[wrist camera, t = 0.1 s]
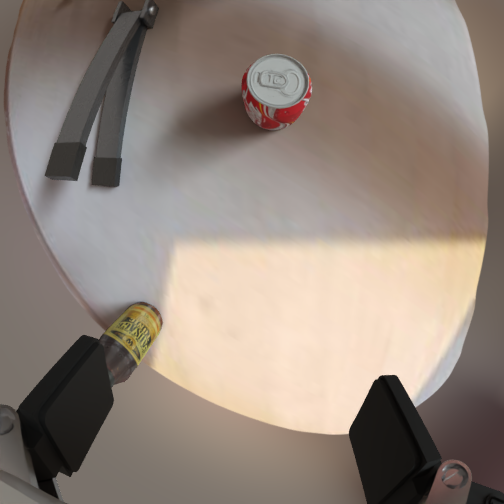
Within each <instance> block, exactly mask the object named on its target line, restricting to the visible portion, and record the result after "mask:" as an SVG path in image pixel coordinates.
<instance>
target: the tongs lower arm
mask: <svg viewBox="0 0 504 504" xmlns="http://www.w3.org/2000/svg"><path fill="white" fill-rule="evenodd" d="M158 10H159V8H158V6H157V5H156V4H155V2H154V1H153V0H146V1H145V4H144V6H143V9H142V12H141V15H140V18H141V20H142V22H141V24H140V26H139V27H138V29H137V31H136V32H135V34H134V36H133V38H132V39H131V41H130V43H129V45H128V47H127V49H126V51H125V52H124V54H123V56H122V58H121V60H120V62H119V64H118V66H117V68H116V70H115V73H114V75H113V77H112V79H111V81H110V83H109V86H108V88H107V91H106V96H105V101H104V106H103V112H102V117H101V124H100V130H99V137H98V144H97V152H96V157H94V164H93V175H92V185H102V186H114V187H115V186H119V182H120V172H121V162H122V158H121V150H122V142H123V135H124V128H125V122H126V116H127V111H128V105H129V100H130V95H131V90H132V85H133V81H134V76H135V72H136V68H137V64H138V60H139V56H140V52H141V48H142V45H143V41H144V38H145V34H146V31H147V28H153V25H154V22H155V19H156V16H157V13H158ZM126 12H132V11H131V10H130V9H129V8H128V7H127V5H126V4H125V3H124V2H123V1H120V2H119V3H118V5H117V8H116V11H115V12H114V15H113V19H112V21H111V22H112V23H113V24H115V22H116V21H117V19H118V18H119V16H120V15H121V13H126Z"/></svg>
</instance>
